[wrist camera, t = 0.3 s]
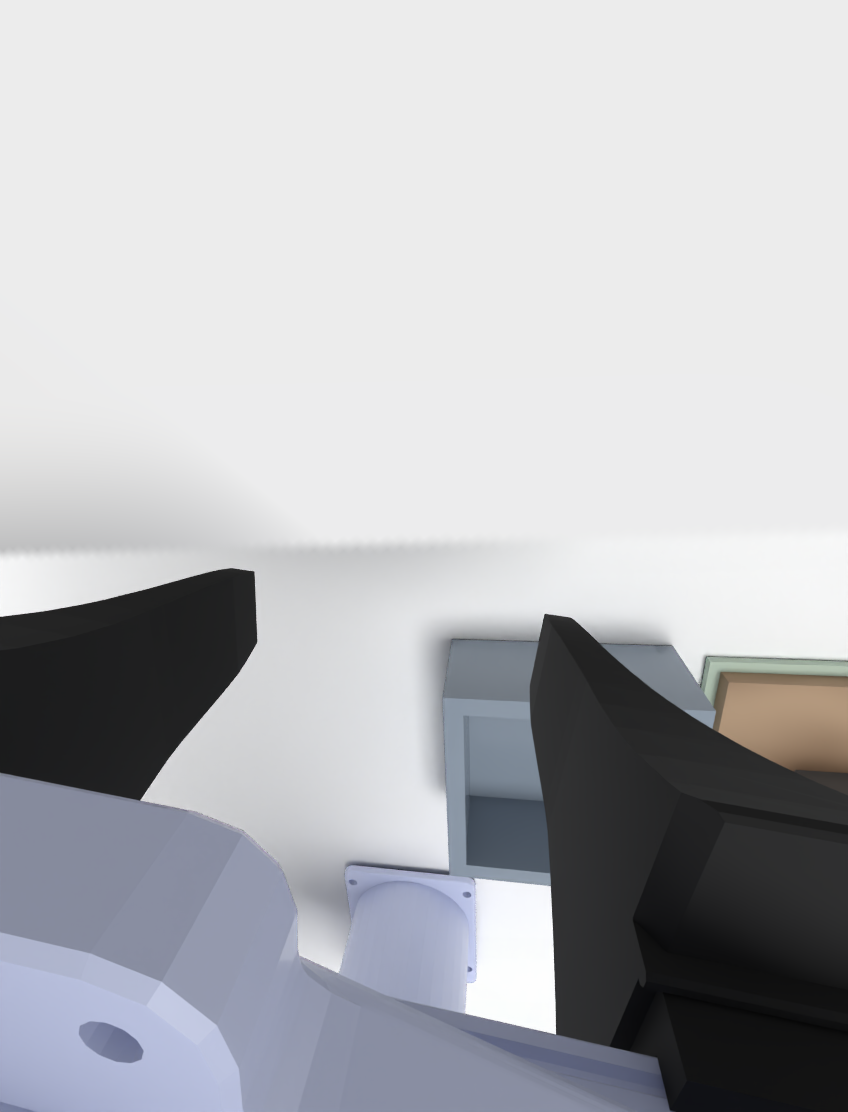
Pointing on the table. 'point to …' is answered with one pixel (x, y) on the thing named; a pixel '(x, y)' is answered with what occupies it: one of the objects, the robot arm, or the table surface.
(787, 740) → the walnut lid
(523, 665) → the slate dish
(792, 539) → the table surface
